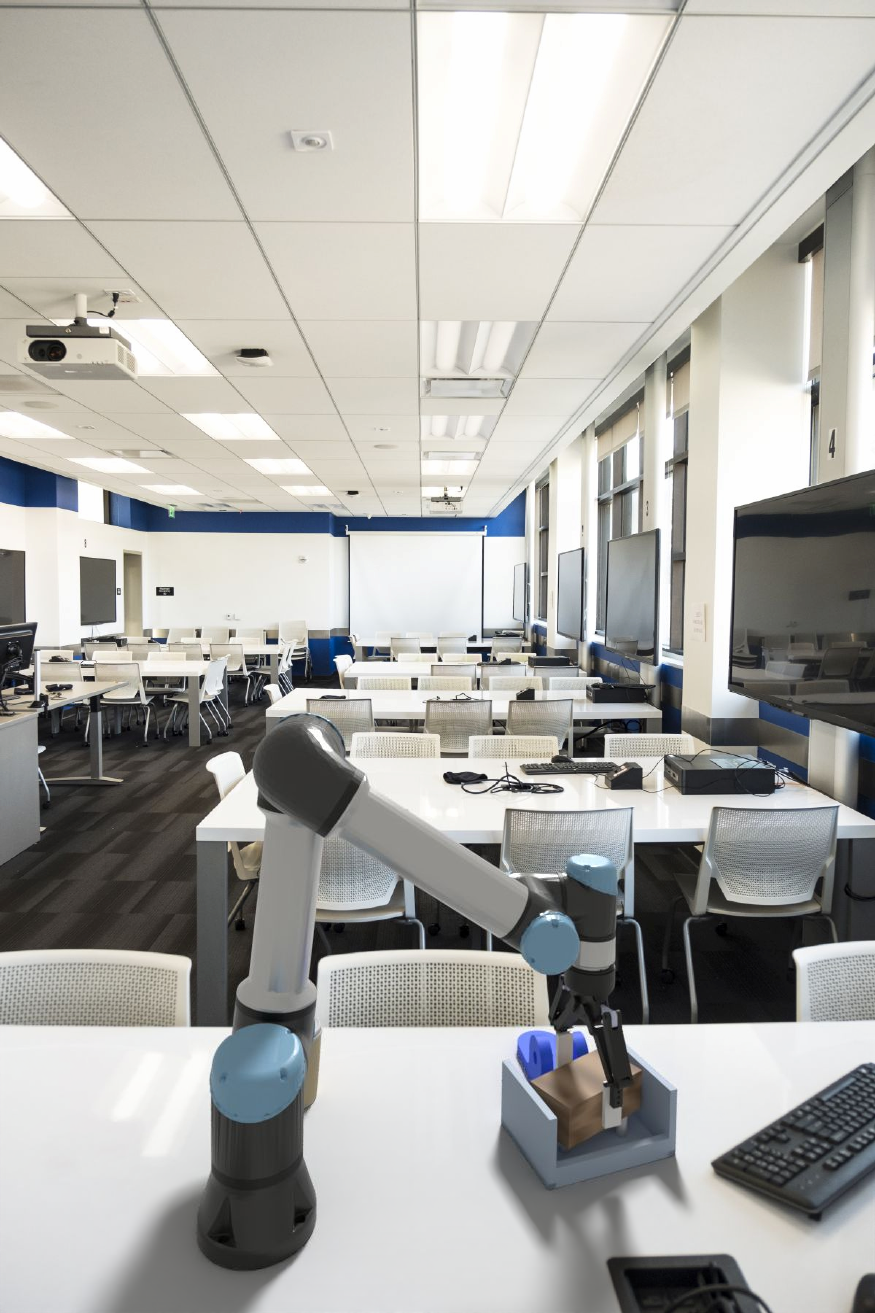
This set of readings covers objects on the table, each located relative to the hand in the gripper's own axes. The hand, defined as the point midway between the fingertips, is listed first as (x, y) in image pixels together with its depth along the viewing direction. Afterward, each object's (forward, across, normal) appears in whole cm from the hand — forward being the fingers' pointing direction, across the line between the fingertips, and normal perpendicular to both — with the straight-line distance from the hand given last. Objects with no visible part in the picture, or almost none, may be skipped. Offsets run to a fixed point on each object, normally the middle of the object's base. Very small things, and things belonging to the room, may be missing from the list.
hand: (586, 1098), depth 117 cm
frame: (+6, 0, 0) cm, 6 cm away
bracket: (+7, +18, -4) cm, 20 cm away
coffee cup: (+7, +25, +40) cm, 48 cm away
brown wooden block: (+2, 0, 0) cm, 3 cm away
